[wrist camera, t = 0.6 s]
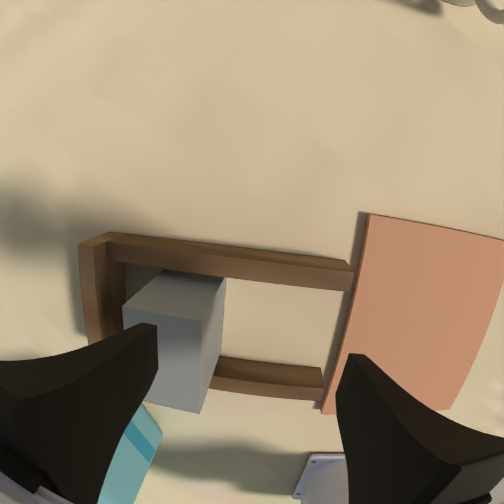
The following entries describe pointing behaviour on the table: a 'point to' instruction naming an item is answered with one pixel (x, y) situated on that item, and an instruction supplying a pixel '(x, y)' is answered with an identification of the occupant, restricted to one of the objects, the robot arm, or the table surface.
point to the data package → (131, 459)
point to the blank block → (181, 334)
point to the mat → (420, 306)
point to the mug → (483, 8)
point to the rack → (217, 264)
